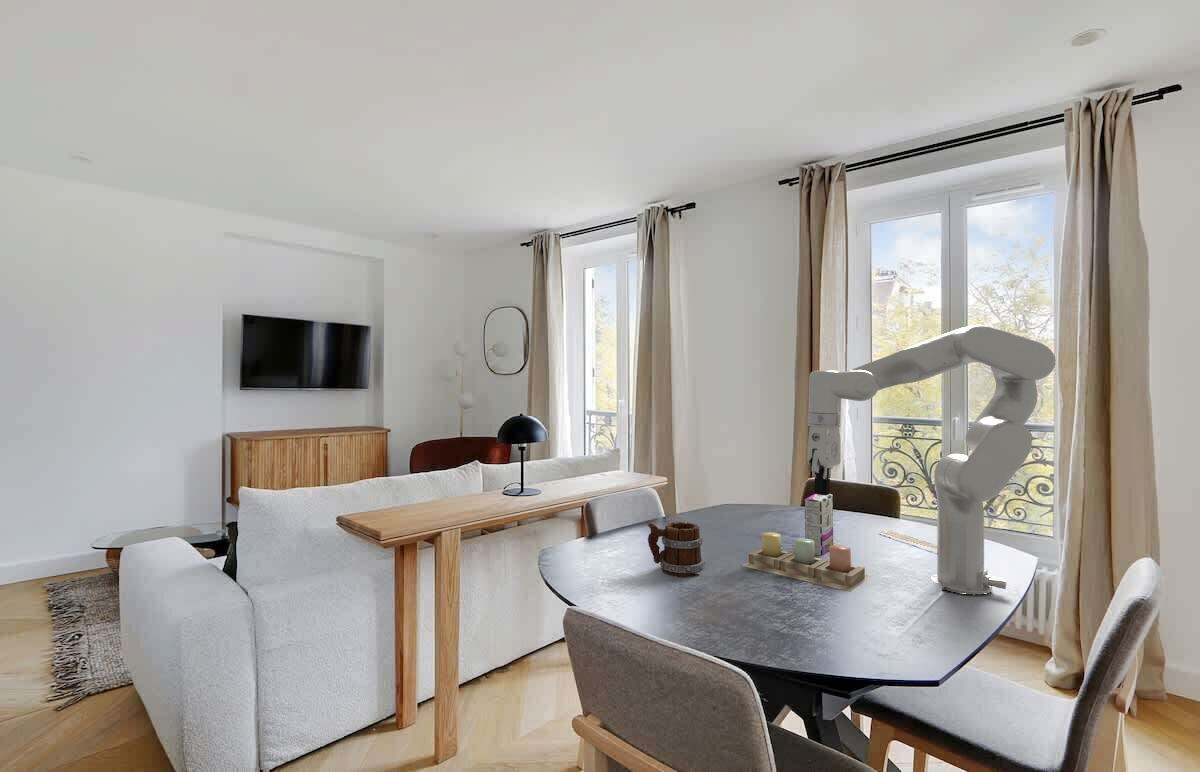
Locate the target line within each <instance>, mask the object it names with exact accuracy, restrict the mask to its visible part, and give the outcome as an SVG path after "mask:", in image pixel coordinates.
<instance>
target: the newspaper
mask: <svg viewBox="0 0 1200 772" xmlns="http://www.w3.org/2000/svg"><path fill="white" fill-rule="evenodd" d="M879 532H880V533H883V534H886V535H890V536H892V537H895V538H899V539H902V540H906V541H910V542H913V543H916V544H920V545H923V546H927V547H931V548H935V549H937V544H935V543H931V542H927V541H925V540H921V539H919V538H917V537H916V538H915V537H912V536H909V535H906V534H903V533H900V532H897V531H894V530H889V529H885V530H882V531H879ZM934 544H935V545H934Z"/></svg>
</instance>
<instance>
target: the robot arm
mask: <svg viewBox="0 0 1200 772" xmlns="http://www.w3.org/2000/svg"><path fill="white" fill-rule="evenodd" d="M972 363H980V364H983V365H985V366H988V367H990V370H991V372H992V375H993V376H994V380H995V390H994V393H993V395H992V397H991V399H990V400H989V402H988V403H987V405H986V406H985V407H984V408H983V410H982V411H981V412H980V413H979V415H978V416H977V417H976V419H975V420H974V422H973V423H972V424H971V425H970V426H969V428H968V430H967V432H966V434H965V444H966V446H967V448H969V450H970V451H972V452H971V453H970V455H966V454H963V453H952V454H948V455H945V456H944V457H942V458H941V459H940V460H939V461H938V462H937V463H936V466H935V468H934V472H933V474H934V475H933V477H934V478H933V479H934V485H935V492H936V493H935V494H936V501H937V518H936V521H937V528H936V529H937V534H936V536H937V537H936V539H937V544H936V545H937V554H936V555H937V560H936V561H937V566H936V567H937V573H935V574H932V575H931V576H930V580H931V582H933V583H934V584H935V583H936V584H938V585H939V586H942V588H941V590H942V589H944V590H943V591H945V590H948V591H952V592H951V593H953V592H957V593H956V594H958V593H966V594H984V593H989V592H991V591H993V587H994V588H997V589H1002V590H1006V589H1007V580H1005V579H1003V577H999V576H992V575H990V574H989V573H988V568H987V569H986V568H985V510H984V503H983V502H988V501H990V500H992V499H994V498H995V497H997V496H998V495H999V494H1000V493H1001V492H1002V490H1004V489H1005V487H1006V486H1007V484H1008V483H1009V482H1010V481H1011V479H1012V478H1013V477H1014V476H1015V474H1017V471H1019V469H1020V467H1021V466H1022V465H1023V464H1024V462H1025V461H1026V459H1027V458H1028V456H1029V455H1030V453H1031V450H1032V446H1033V439H1032V435H1031V432H1030V430H1029V429H1028V428H1027V427H1026V426H1025V425H1026V423H1027V422H1028V420H1029V418H1031V416H1032V415H1033V412H1034V410H1035V408H1036V406H1037V404H1038V387H1037V382H1036V381H1038V380H1042V379H1044V378H1045V379H1046V377H1048V376H1050V374H1051V373H1052V372H1053V370H1054V369H1055V367H1056V357H1055V354H1054V352H1053V351H1052V349H1051V348H1049V346H1046V345H1045V344H1044V343H1041V342H1039V341H1036V340H1033V339H1031V338H1027V337H1024V336H1020V335H1018V334H1014V333H1012V332H1009V331H1006V330H1002V329H999V328H996V327H993V326H991V325H984V324H976V325H975V324H974V325H970V326H966V327H965V326H964V327H961V328H958V329H955V330H951V331H950V332H947V333H944V334H941V335H939V336H936V337H933V338H931V339H928V340H925V341H923V342H920V343H917V344H915V345H912V346H909V347H907V348H904V349H901V350H899V351H897V352H895V353H892V354H889V355H887V356H885V357H881V358H879V359H875V360H873V361H870V362H868V363H864V364H863V365H859V366H857V367H855V368H852V369H849V370H847V371H838V370H825V369H823V370H821V369H820V370H813V371H811V372H810V374H809V378H808V406H807V407H808V410H807V426H809V432H808V441H807V453H806V454H807V456H806V457H807V458H806V459H807V464H808V465H809V466H810V467H811V472H812V473H813V478H814V492H813V494H819V495H825V496H826V495H829V494H831V493H830V489H831V488H830V487H831V476H832V470H833V468H834V467H836V466H839V465H840V464H841V460H842V459H841V456H842V455H841V432H840V427H841V416H842V415H841V411H842V399H843V400H847V401H848V400H849V401H855V402H865V401H868V400H871V399H872V398H874V397H875V395H876V394H877V393H878V391H880V390H883V389H887V388H891V387H894V386H898V385H903V384H904V385H906V384H911V383H918V382H921V381H925V380H927V379H931V378H933V377H935V376H937V375H941V374H943V373H946V372H948V371H951V370H954V369H957V368H960V367H963V366H966V365H969V364H972ZM948 591H947V592H948ZM991 593H992V592H991ZM989 594H990V593H989Z"/></svg>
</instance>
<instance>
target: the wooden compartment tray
mask: <svg viewBox="0 0 1200 772" xmlns="http://www.w3.org/2000/svg"><path fill="white" fill-rule="evenodd" d="M741 567H745V568H749V569H754V570H759V571H762V572H766V573H770V574H773V575H779V576H783V577H787V578H792V579H796V580H800V581H805V582H808V583H812V584H817V585H821V586H826V587H829V588H834V589H838V590H843V591H846V592H851V591H853V590H854V589H856V588H857V587H859V586H861V584H863V583H864V582H866V581H867V580H869V579H870V578H871V577H872V575H867V574H865V573H866V571H865V570H866V569H865V568H866V567H865V566H864V567H863V566H858V565H855V564H854V565H853V564H851V570H850V571H837V570H833V569H831V568H830V567H829V559H824V558H820V557H816V556H814V563H799V562H796V561H795V560H794V552H790V551H786V550H785V551H784V550H781V555H780V556H767V555H764V554H762V547H761V548H759V549H756V550H754V551H752V552H750V553H748V562H745V563H744V564H741Z"/></svg>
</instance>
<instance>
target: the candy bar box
mask: <svg viewBox="0 0 1200 772" xmlns="http://www.w3.org/2000/svg"><path fill="white" fill-rule="evenodd" d="M833 496H834V495H833V494H831V493H830V494H829V495H826V496H825V495H819V494H815V493H813V494H812V495H810V496H809V497H807V498H805V499H804V535H805V539H811V540H813V541H814V555H816V556H817V555H818V556H824V555H825V554H826V553H829V546H831V545H834V507H833V506H834V504H833V503H834V502H833V501H834V500H833Z"/></svg>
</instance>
